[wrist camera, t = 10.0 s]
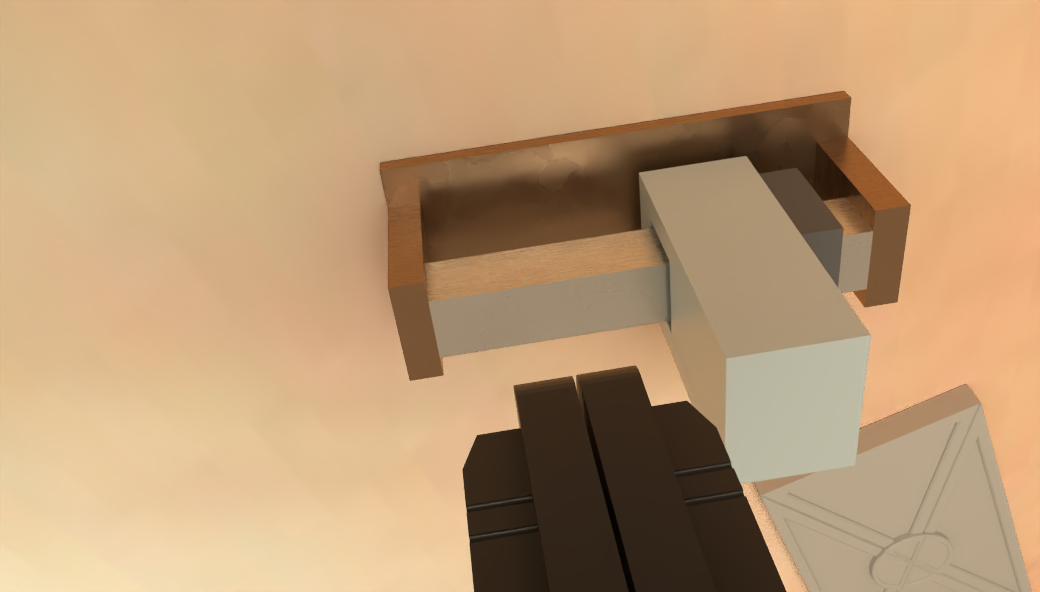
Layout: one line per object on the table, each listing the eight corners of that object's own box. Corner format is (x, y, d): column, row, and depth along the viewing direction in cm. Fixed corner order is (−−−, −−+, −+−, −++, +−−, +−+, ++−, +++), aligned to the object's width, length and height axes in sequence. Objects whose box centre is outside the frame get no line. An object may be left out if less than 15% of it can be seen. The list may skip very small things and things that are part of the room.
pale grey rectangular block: (644, 284, 47) (724, 487, 36) (638, 172, 44) (726, 358, 32) (743, 268, 47) (855, 465, 36) (746, 155, 44) (871, 334, 32)
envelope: (846, 660, 73) (1023, 592, 70) (858, 686, 71) (1040, 618, 69) (749, 472, 59) (964, 380, 57) (761, 499, 57) (983, 405, 55)
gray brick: (750, 273, 46) (788, 340, 42) (753, 174, 43) (795, 235, 39) (791, 267, 46) (833, 333, 42) (796, 167, 43) (843, 228, 39)
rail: (414, 318, 49) (417, 414, 43) (379, 162, 44) (378, 246, 38) (830, 252, 50) (892, 337, 44) (844, 91, 45) (916, 162, 39)
